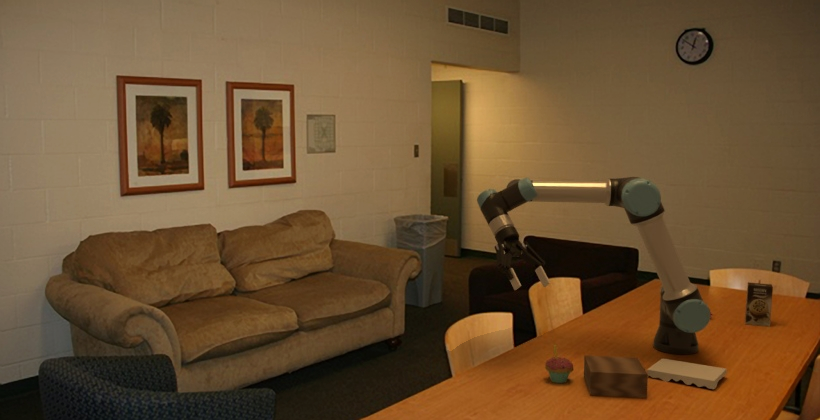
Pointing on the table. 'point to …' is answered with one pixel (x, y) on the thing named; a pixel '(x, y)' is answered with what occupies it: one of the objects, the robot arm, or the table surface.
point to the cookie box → (758, 304)
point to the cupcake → (559, 368)
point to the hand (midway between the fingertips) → (532, 286)
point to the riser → (615, 376)
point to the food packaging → (687, 373)
